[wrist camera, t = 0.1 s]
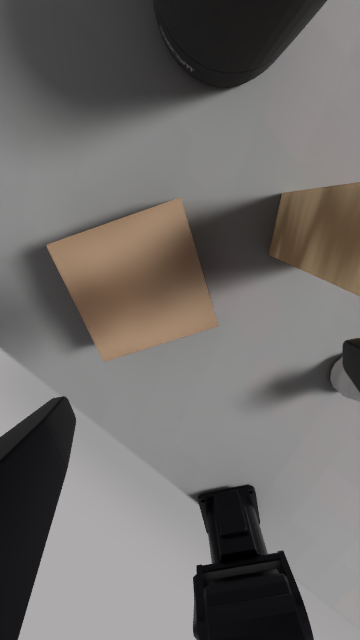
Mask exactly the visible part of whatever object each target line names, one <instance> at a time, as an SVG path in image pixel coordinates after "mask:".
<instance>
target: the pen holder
mask: <svg viewBox="0 0 360 640" xmlns="http://www.w3.org/2000/svg"><path fill="white" fill-rule="evenodd" d="M326 1H327V0H153V2H154V8H155V13H156V17H157V22H158V25H159V28H160V31H161V34H162V37H163V39H164V41H165V43H166V46H167V48H168V49H169V51H170V53H171V54H172V56H173V57H174V59H175V60H176V61H177V62H178V64H179V65H180V66H181V67H182V68H183V69H184V70H185V71H186V72H187V73H189V74H190V75H191V76H193V77H194V78H196V79H198V80H200V81H202V82H204V83H207V84H210V85H214V86H225V87H229V86H235V85H239V84H243V83H246V82H248V81H250V80H252V79H254V78H255V77H257V76H258V75H260V74H261V73H263V72H264V71H265V70H266V69H267V68H268V67H270V66H271V65H272V64H273V63H274V62H275V60H276V59H277V58H278V57H279V56H280V55H281V54H282V52H283V51H284V50H285V49H286V48H287V47H288V46H289V45H290V43H291V42H292V41H293V40H294V39H295V38H296V37H297V36H298V34H299V33H300V32H301V31H302V30H303V28H304V27H305V26H306V25H307V24H308V23H309V21H310V20H311V19H312V18H313V17H314V15H315V14H316V13H317V12H318V11H319V10H320V8H321V7H322V6H323V5H324V4H325V2H326Z"/></svg>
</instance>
